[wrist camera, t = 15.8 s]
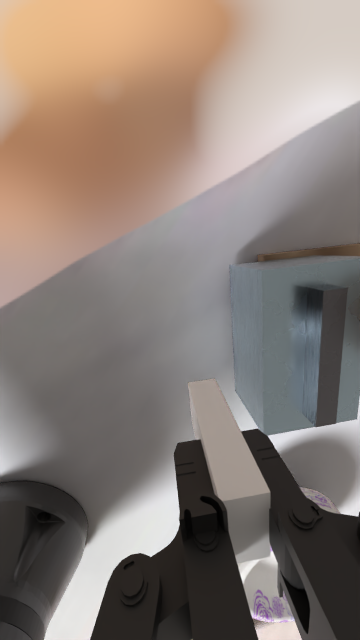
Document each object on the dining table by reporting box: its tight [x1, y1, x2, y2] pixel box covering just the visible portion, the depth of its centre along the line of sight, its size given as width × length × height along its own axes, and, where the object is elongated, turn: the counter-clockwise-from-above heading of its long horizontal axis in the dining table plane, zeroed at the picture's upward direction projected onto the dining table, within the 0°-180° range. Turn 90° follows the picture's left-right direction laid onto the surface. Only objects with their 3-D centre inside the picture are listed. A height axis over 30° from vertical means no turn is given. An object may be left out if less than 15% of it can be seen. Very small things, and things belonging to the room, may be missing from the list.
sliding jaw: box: [229, 255, 360, 435], centre depth 20 cm, size 8×13×8 cm, turn 6°
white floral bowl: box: [238, 487, 341, 622], centre depth 30 cm, size 15×15×8 cm
